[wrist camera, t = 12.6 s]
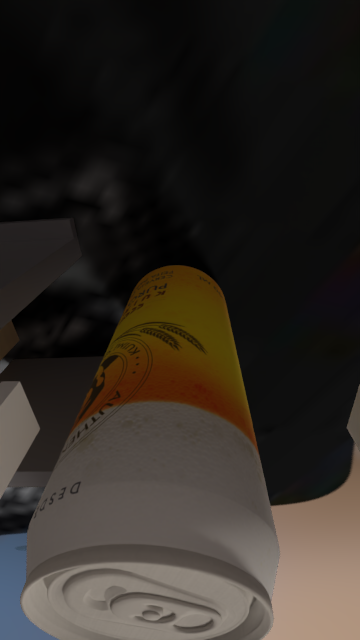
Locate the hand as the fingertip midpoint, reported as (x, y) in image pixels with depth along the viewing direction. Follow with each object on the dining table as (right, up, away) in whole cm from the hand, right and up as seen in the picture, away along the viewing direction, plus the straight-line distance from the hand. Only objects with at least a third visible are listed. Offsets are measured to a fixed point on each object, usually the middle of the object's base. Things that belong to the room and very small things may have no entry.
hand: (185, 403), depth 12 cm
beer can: (0, +4, +8) cm, 9 cm away
